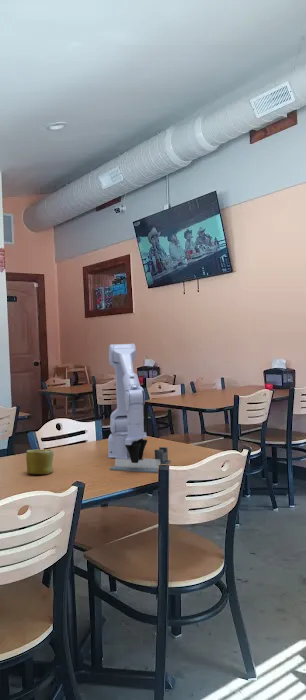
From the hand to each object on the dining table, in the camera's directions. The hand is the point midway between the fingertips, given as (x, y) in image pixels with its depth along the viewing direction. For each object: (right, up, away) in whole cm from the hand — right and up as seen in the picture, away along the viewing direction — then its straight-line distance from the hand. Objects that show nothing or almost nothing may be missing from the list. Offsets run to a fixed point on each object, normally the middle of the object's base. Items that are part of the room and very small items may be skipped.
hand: (136, 461), depth 201 cm
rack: (+4, -2, +9) cm, 10 cm away
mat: (0, -3, 0) cm, 3 cm away
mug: (-33, -4, 0) cm, 33 cm away
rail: (+1, -1, +1) cm, 2 cm away
